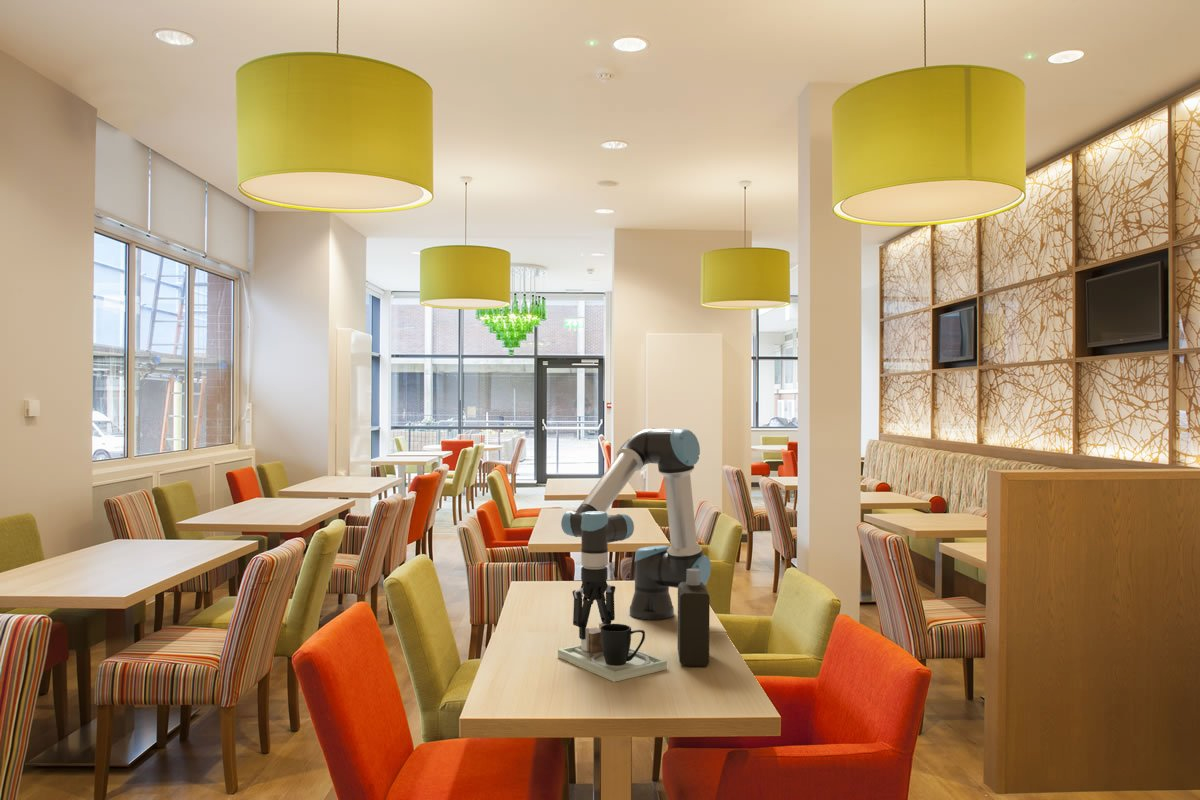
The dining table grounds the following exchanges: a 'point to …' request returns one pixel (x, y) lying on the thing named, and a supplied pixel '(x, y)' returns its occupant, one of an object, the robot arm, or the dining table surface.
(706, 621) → the bottle
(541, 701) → the dining table surface
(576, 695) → the dining table surface
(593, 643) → the block
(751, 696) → the dining table surface
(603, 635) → the mug
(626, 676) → the tray
